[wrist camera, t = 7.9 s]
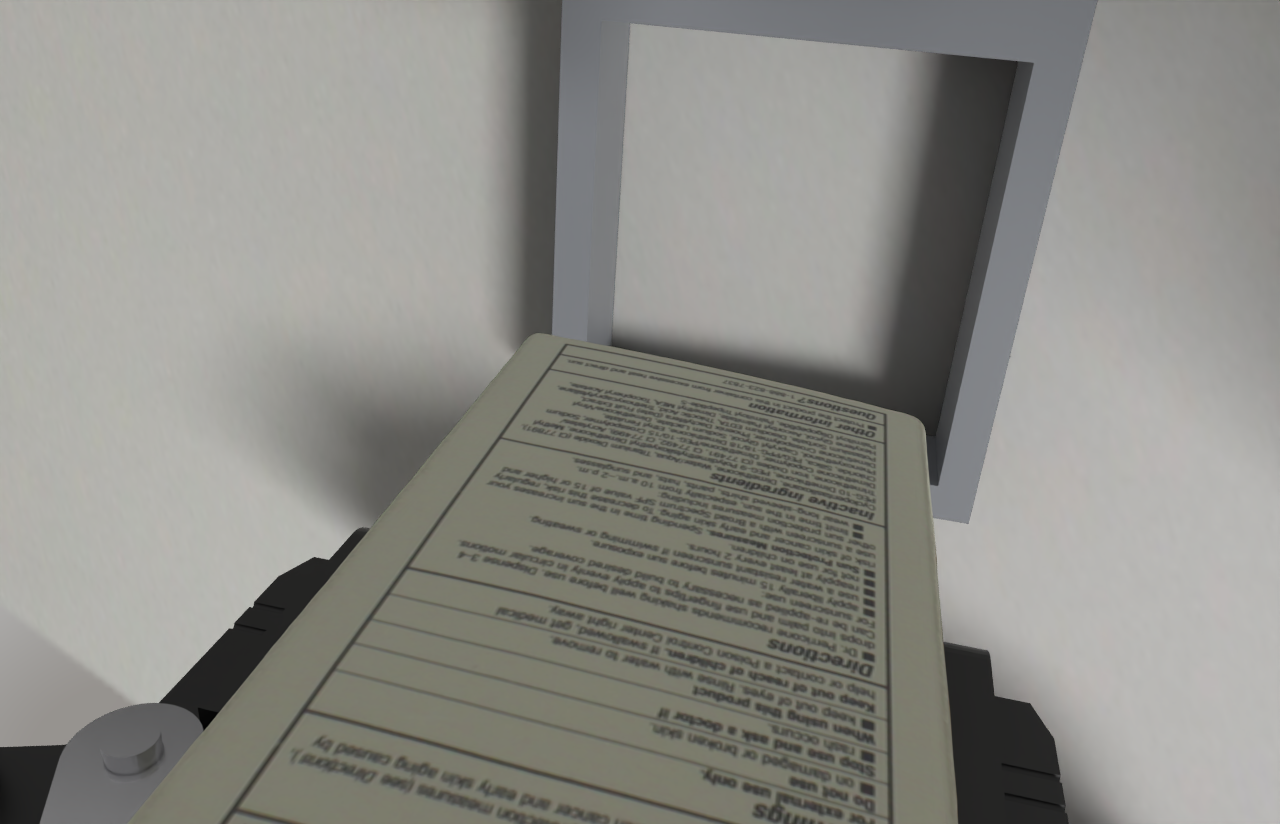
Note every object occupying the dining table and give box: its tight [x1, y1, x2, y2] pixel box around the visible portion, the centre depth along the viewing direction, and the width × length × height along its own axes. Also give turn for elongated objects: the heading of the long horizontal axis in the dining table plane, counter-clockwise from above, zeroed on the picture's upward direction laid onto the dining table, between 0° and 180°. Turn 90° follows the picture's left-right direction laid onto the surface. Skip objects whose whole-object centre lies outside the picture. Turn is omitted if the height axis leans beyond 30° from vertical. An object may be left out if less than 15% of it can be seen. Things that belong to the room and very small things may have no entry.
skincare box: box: [127, 333, 958, 824], centre depth 11 cm, size 6×4×12 cm
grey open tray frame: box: [552, 0, 1097, 524], centre depth 24 cm, size 12×22×7 cm, turn 176°
